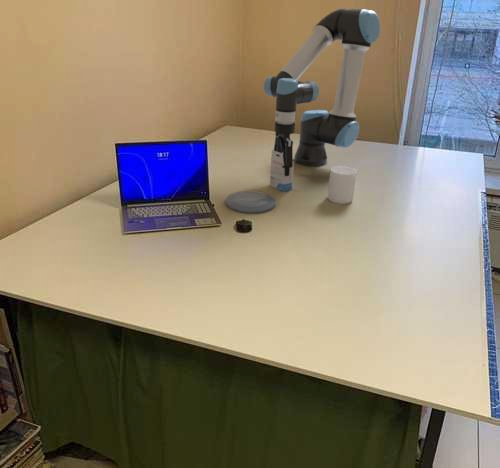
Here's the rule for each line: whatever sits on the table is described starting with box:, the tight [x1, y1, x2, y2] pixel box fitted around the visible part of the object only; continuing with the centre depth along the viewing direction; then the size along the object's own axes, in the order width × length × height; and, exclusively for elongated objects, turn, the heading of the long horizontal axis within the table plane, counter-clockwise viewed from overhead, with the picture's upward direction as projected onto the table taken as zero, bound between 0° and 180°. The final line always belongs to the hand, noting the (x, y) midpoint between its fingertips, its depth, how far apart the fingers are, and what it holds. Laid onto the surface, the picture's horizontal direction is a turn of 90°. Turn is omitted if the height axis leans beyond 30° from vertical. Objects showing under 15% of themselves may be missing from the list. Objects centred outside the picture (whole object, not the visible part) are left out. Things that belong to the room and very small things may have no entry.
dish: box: [225, 190, 276, 215], centre depth 176 cm, size 18×18×1 cm
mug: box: [327, 165, 357, 205], centre depth 181 cm, size 10×12×12 cm
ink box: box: [269, 149, 295, 192], centre depth 189 cm, size 8×5×15 cm, turn 39°
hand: (281, 178), depth 190 cm, fingers closed on ink box, 9 cm apart
